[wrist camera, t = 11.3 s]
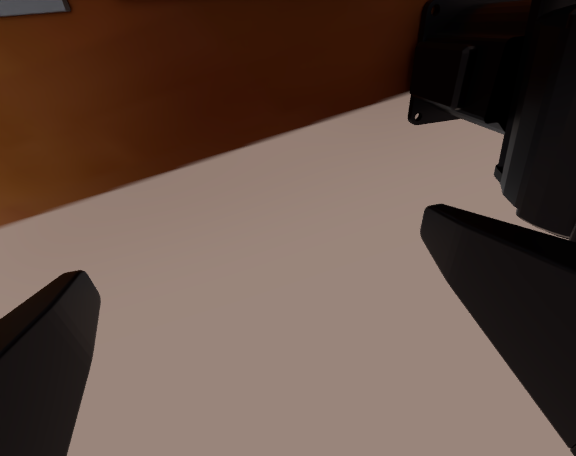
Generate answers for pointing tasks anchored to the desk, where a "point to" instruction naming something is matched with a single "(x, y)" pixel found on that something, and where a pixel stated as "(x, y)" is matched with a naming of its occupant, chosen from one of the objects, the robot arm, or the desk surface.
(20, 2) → the dark gray panel
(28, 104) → the desk surface
